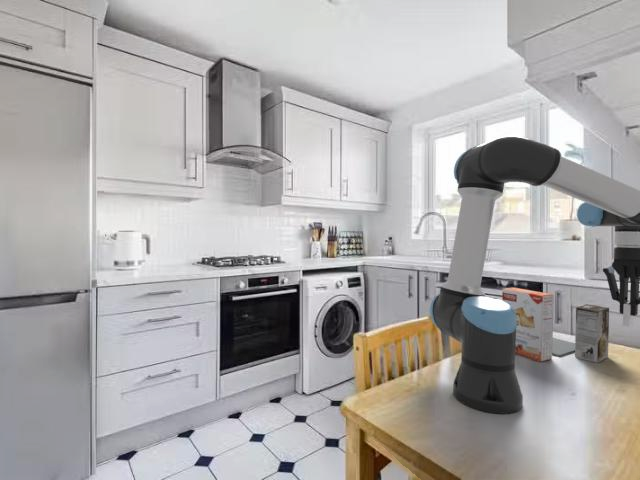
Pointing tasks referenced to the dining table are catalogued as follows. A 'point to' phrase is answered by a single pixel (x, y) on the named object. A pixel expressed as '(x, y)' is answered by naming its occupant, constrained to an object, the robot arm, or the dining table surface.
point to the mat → (562, 347)
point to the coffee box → (592, 332)
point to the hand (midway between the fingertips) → (628, 325)
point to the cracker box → (532, 322)
